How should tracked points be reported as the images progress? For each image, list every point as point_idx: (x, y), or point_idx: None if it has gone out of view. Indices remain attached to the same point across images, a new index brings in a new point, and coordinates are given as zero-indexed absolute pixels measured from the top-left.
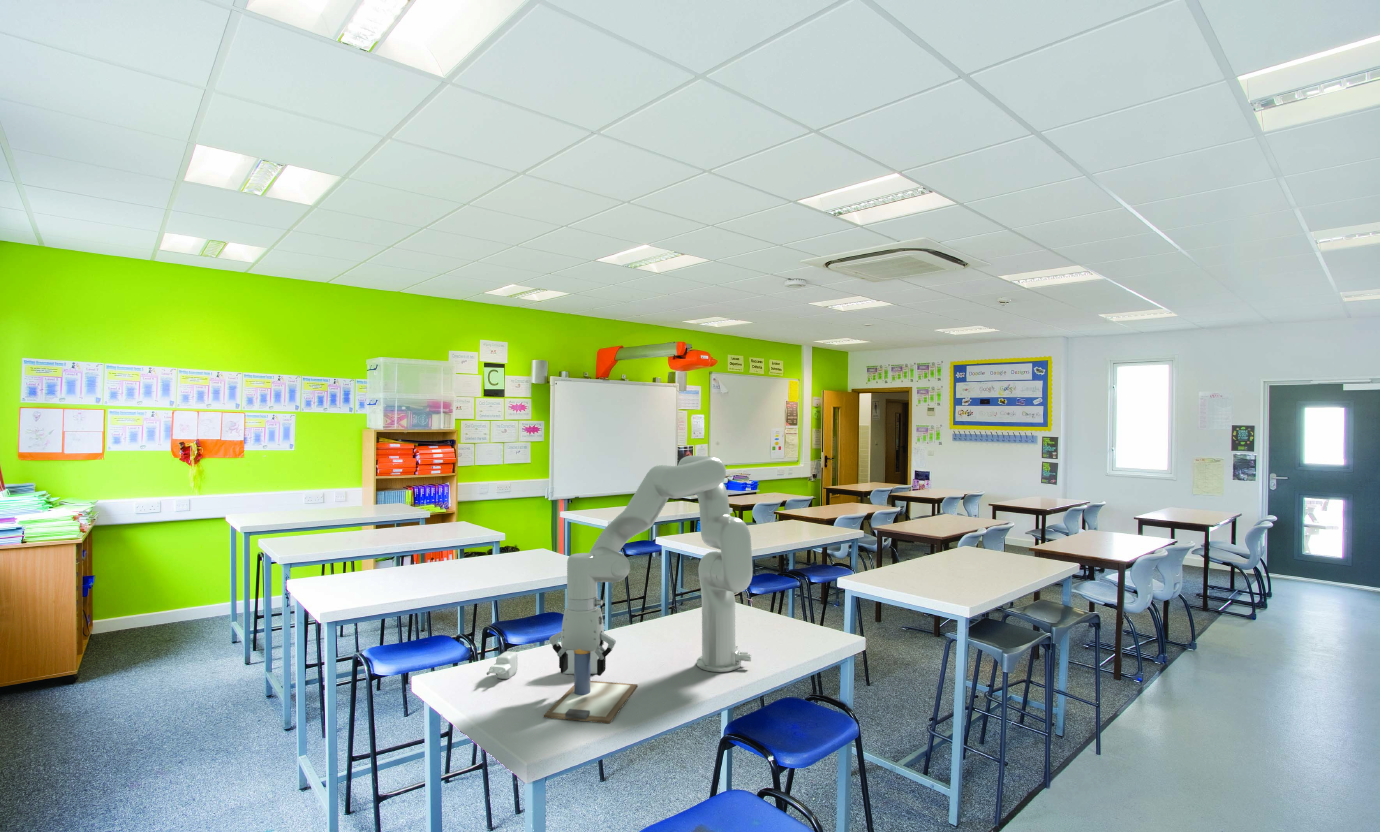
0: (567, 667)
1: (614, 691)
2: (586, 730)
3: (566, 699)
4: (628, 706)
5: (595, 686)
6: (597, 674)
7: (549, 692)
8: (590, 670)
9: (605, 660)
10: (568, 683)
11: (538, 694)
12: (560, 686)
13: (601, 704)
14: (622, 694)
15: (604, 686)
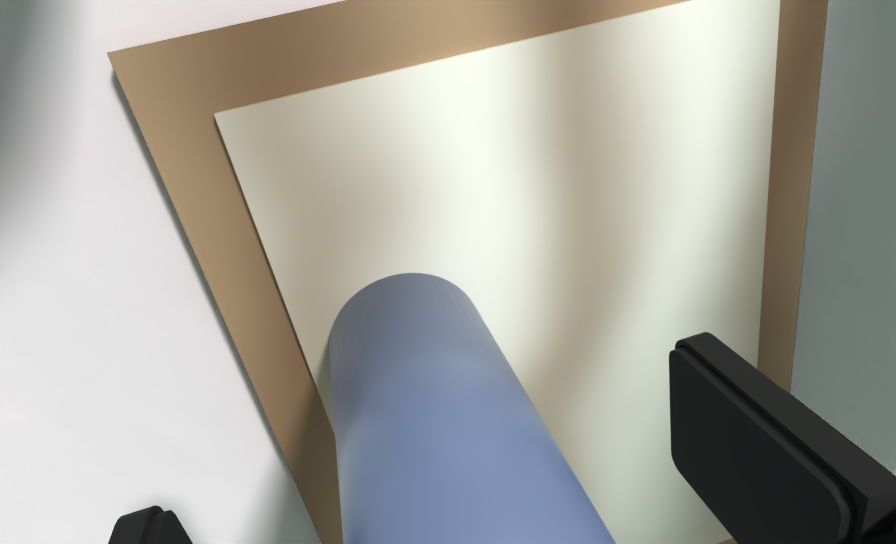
0: (172, 535)
1: (677, 197)
2: None
3: None
4: (816, 320)
5: (449, 175)
6: (681, 467)
7: (64, 424)
8: (548, 430)
9: (876, 462)
10: (27, 148)
11: (10, 499)
12: (23, 263)
13: (666, 436)
14: (760, 221)
15: (537, 131)
